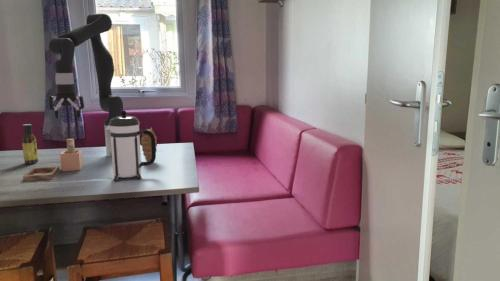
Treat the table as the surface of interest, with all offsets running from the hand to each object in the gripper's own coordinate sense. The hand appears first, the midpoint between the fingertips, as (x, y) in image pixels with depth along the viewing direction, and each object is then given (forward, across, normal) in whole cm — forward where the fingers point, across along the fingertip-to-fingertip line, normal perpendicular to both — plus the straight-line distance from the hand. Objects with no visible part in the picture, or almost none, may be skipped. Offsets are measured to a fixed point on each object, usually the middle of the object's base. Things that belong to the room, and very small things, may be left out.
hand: (68, 118), depth 175 cm
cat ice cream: (+25, -36, -7) cm, 44 cm away
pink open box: (+25, 0, 0) cm, 25 cm away
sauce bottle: (+25, +23, -20) cm, 40 cm away
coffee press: (+25, -28, +18) cm, 41 cm away
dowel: (+24, 0, 0) cm, 24 cm away
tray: (+25, +10, +10) cm, 29 cm away
